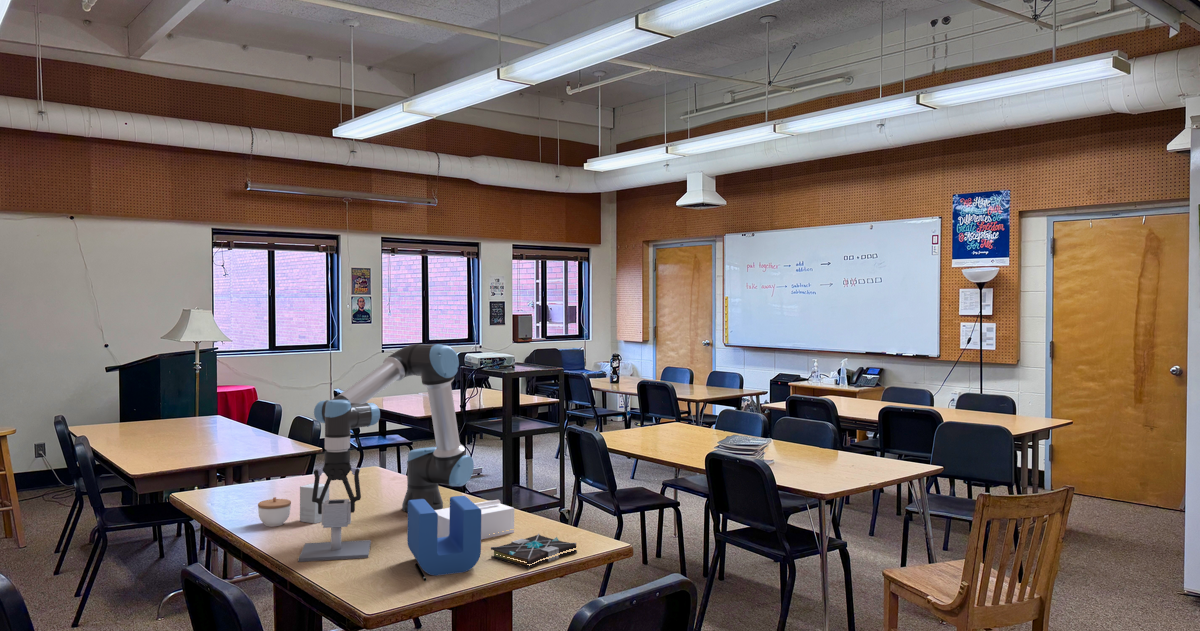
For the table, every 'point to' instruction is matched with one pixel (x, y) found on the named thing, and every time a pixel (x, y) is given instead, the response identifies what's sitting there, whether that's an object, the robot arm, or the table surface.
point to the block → (445, 551)
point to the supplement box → (310, 503)
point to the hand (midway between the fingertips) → (336, 523)
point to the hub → (335, 513)
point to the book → (532, 550)
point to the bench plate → (335, 554)
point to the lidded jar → (274, 511)
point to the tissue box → (483, 519)
